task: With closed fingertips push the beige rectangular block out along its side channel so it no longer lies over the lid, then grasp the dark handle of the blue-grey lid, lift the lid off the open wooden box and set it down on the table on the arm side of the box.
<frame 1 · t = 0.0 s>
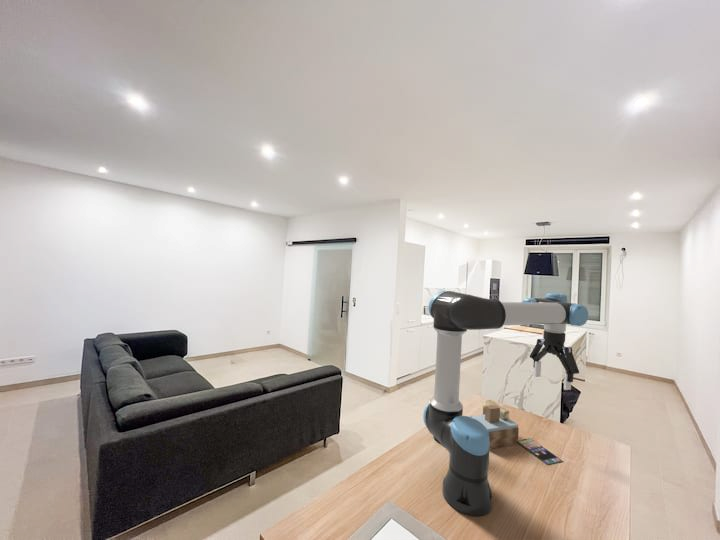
hand: (551, 382, 123), 28 cm above the table, fingers open, 13 cm apart
beige rectangular block: (497, 409, 136), point 10 cm above the table, slide at 0.0 cm
lid: (493, 423, 130), point 7 cm above the table, touching open wooden box
travel mug: (442, 439, 128), on the table
open wooden box: (492, 439, 130), on the table
smartphone: (538, 453, 122), on the table
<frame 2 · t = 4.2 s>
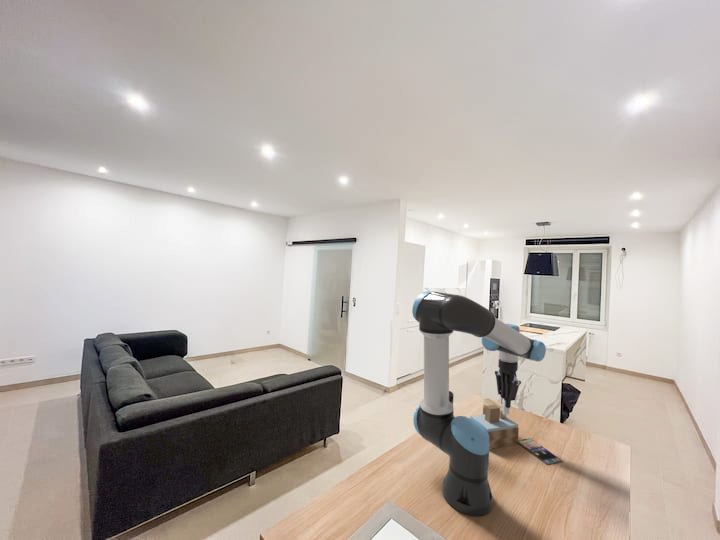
hand: (505, 413, 131), 11 cm above the table, fingers closed
beige rectangular block: (494, 407, 137), point 10 cm above the table, slide at 1.5 cm, touching gripper
everything else where it was.
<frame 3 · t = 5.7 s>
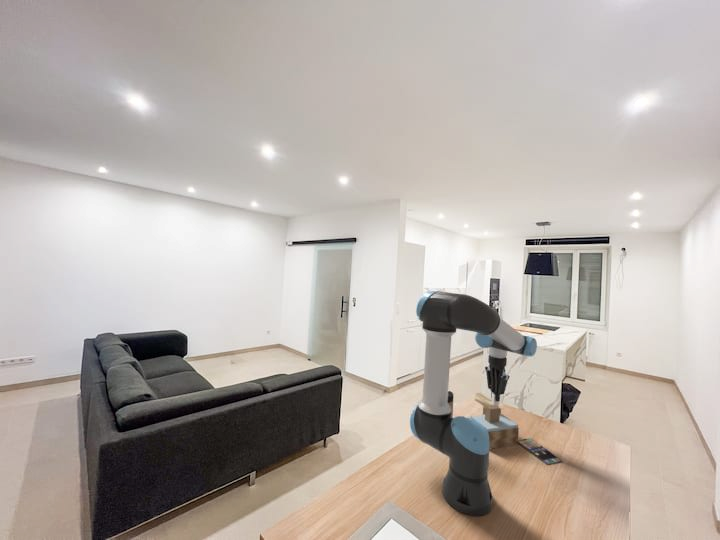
hand: (494, 407, 137), 11 cm above the table, fingers closed
beige rectangular block: (485, 401, 143), point 10 cm above the table, slide at 7.7 cm, touching gripper
everything else where it was.
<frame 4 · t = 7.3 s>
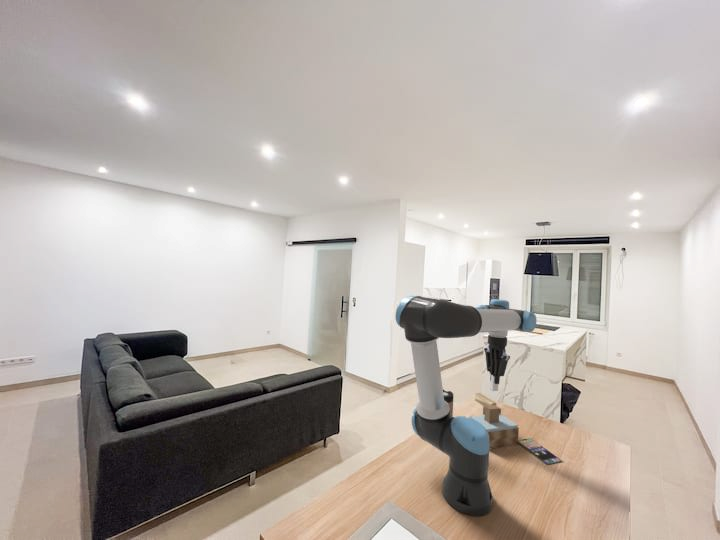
hand: (494, 390, 129), 22 cm above the table, fingers closed
beige rectangular block: (485, 401, 143), point 10 cm above the table, slide at 7.7 cm
everything else where it was.
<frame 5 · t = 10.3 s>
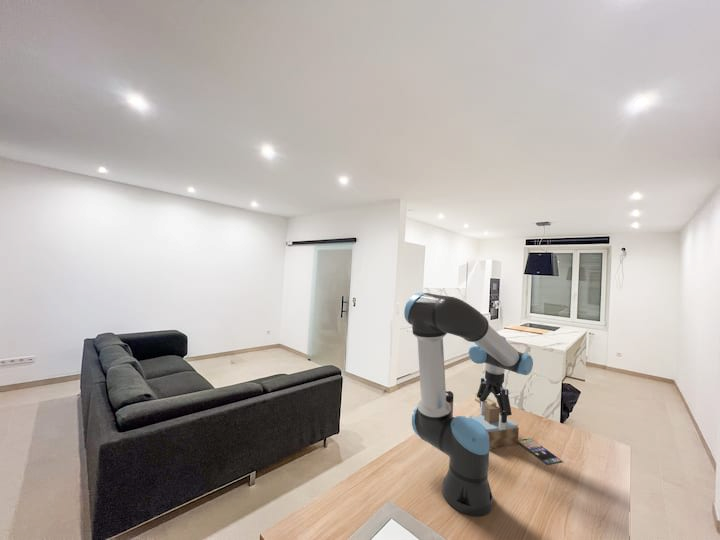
hand: (492, 422, 129), 8 cm above the table, fingers closed on lid, 11 cm apart
lid: (493, 423, 129), point 7 cm above the table, touching gripper, open wooden box
everything else where it was.
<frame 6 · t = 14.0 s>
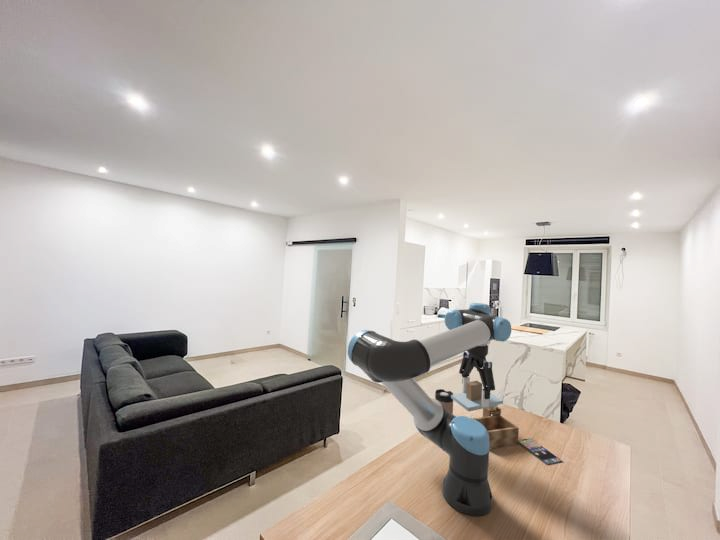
hand: (474, 399, 117), 22 cm above the table, fingers closed on lid, 11 cm apart
lid: (476, 400, 117), point 22 cm above the table, touching gripper
everything else where it was.
when the fingers open (3 cm above the table, at t = 17.9 s): lid drops 2 cm, point 1 cm above the table.
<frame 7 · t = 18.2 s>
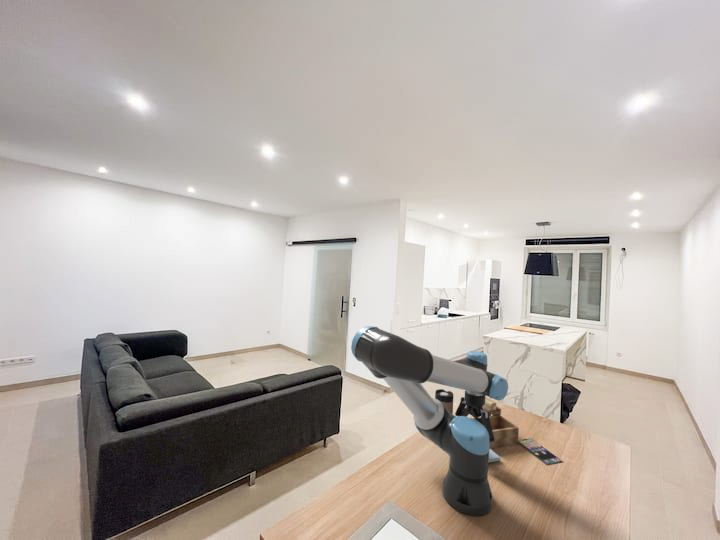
hand: (472, 446, 117), 4 cm above the table, fingers open, 13 cm apart
lid: (473, 454, 117), point 1 cm above the table
everything else where it was.
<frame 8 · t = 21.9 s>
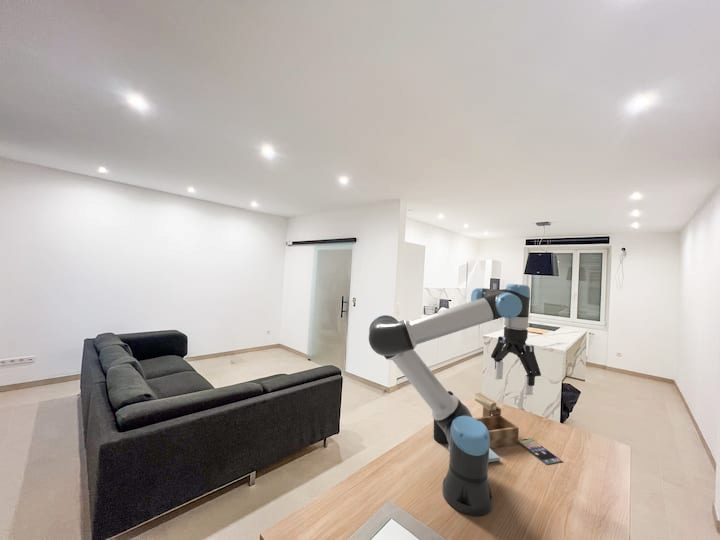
hand: (512, 386, 108), 32 cm above the table, fingers open, 13 cm apart
nothing on the table moved.
at the end: beige rectangular block slide at 7.7 cm; lid inside the target area (0.3 cm from its centre), point 0.7 cm above the table; the gripper is holding nothing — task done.
